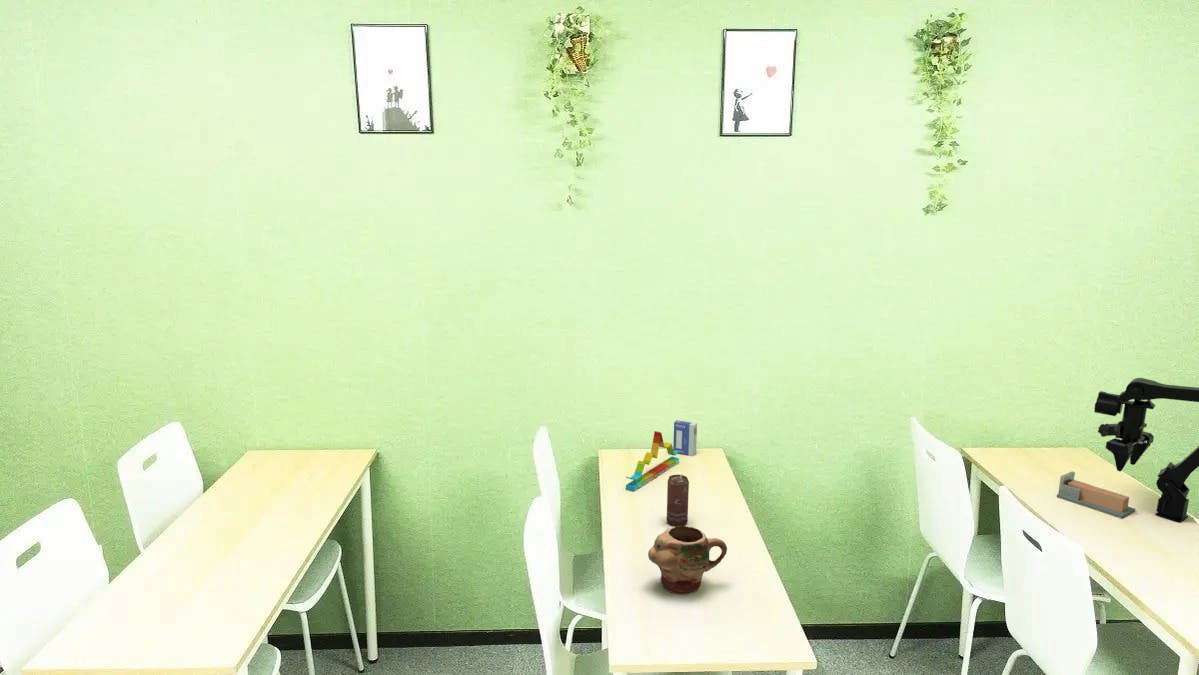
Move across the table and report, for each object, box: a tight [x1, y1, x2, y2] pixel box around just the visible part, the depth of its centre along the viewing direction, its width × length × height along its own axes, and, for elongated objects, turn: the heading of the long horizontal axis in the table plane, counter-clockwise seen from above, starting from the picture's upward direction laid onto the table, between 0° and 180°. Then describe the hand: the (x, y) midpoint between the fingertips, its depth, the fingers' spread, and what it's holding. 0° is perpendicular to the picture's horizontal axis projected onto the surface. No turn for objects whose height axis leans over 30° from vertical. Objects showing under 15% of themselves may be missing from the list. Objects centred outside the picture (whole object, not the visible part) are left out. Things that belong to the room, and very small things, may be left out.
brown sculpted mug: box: [647, 525, 728, 595], centre depth 203 cm, size 20×12×14 cm, turn 104°
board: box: [1056, 493, 1136, 519], centre depth 253 cm, size 19×9×1 cm, turn 36°
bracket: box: [1057, 471, 1091, 500], centre depth 257 cm, size 6×7×6 cm
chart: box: [625, 430, 680, 493], centre depth 271 cm, size 30×3×15 cm, turn 146°
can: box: [666, 474, 690, 527], centre depth 237 cm, size 6×6×14 cm
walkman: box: [672, 419, 698, 457], centre depth 292 cm, size 8×3×12 cm, turn 64°
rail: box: [1068, 479, 1130, 512], centre depth 252 cm, size 16×4×4 cm, turn 36°
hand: (1125, 467), depth 250 cm, fingers open, 9 cm apart
